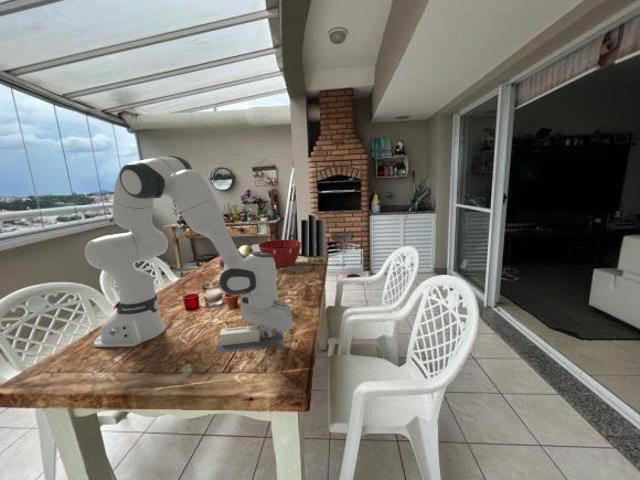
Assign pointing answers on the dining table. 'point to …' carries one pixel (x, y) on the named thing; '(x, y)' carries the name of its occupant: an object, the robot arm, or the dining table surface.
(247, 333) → the pale green slotted block
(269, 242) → the mixing bowl
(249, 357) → the dining table surface
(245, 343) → the slate mat
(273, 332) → the stub
